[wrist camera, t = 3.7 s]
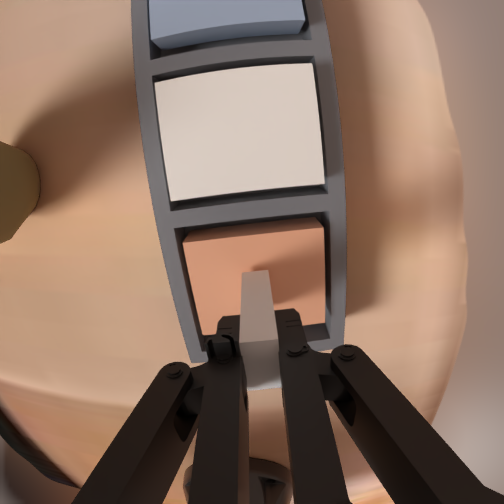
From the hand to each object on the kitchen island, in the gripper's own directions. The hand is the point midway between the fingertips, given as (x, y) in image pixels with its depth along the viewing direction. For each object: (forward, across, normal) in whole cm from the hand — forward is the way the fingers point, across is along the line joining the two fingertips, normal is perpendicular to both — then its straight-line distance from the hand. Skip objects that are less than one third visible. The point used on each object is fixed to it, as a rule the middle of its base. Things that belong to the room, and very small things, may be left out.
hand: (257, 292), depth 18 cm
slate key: (+2, 0, -18) cm, 18 cm away
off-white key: (+2, 0, -9) cm, 9 cm away
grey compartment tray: (+4, 0, -9) cm, 10 cm away
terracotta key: (+3, 0, 0) cm, 3 cm away
